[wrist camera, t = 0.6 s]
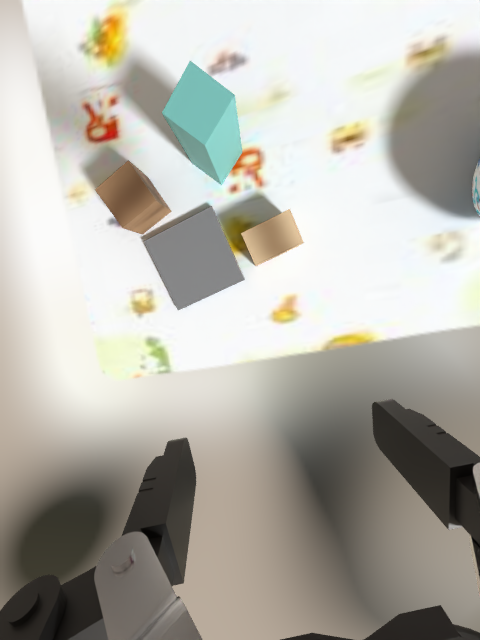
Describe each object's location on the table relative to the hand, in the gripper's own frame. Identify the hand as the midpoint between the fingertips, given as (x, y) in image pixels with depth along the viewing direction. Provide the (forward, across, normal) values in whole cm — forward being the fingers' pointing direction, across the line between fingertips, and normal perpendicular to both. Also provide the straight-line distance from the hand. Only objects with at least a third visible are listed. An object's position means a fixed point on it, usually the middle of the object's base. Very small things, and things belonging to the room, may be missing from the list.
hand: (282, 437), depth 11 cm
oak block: (+24, -5, -9) cm, 27 cm away
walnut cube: (+27, +10, -16) cm, 33 cm away
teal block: (+25, 0, -20) cm, 33 cm away
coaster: (+25, +5, -9) cm, 27 cm away
